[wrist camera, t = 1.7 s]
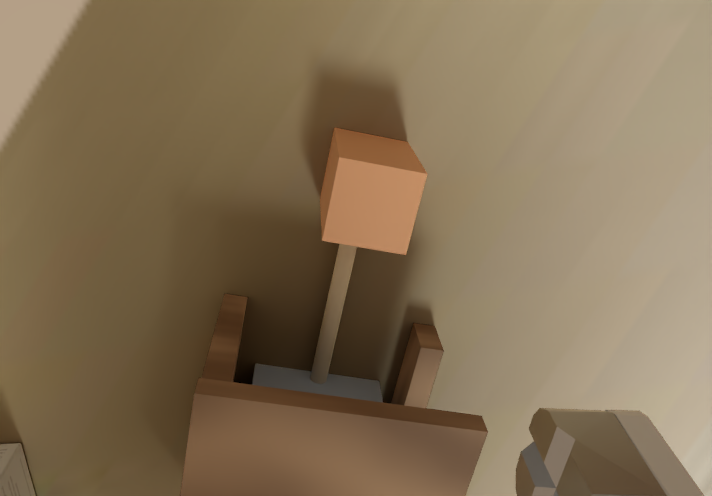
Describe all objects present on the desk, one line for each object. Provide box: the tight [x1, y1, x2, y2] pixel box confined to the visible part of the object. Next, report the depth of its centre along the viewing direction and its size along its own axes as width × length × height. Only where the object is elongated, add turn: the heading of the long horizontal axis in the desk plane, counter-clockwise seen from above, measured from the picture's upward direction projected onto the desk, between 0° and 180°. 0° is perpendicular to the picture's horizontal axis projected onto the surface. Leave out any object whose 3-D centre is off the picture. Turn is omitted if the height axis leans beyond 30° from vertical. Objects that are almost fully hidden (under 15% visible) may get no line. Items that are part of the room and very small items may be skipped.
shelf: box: [180, 294, 488, 496], centre depth 31 cm, size 14×11×10 cm
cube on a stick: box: [252, 127, 427, 402], centre depth 31 cm, size 21×7×6 cm, turn 168°
